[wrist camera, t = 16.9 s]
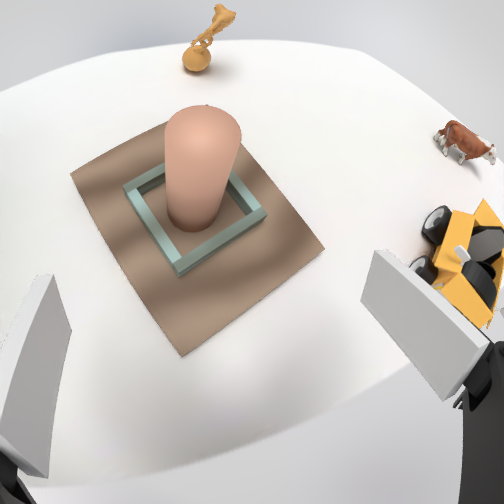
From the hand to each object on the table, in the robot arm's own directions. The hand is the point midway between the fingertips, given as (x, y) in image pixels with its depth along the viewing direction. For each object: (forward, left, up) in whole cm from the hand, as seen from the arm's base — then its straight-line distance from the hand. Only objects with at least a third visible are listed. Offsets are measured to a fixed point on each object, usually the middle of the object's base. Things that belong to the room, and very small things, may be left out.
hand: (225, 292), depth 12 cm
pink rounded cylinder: (-9, +6, -16) cm, 20 cm away
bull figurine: (+4, +53, -18) cm, 56 cm away
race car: (+16, +30, -18) cm, 39 cm away
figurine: (-28, +19, -18) cm, 38 cm away
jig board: (-9, +6, -18) cm, 21 cm away
